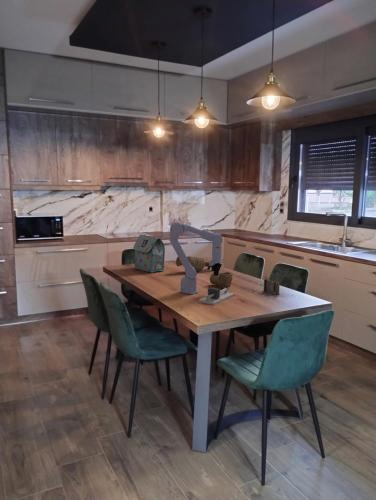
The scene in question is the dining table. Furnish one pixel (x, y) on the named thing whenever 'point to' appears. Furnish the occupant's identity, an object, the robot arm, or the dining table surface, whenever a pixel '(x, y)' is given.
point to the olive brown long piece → (195, 263)
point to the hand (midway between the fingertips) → (216, 275)
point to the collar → (214, 292)
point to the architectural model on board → (271, 286)
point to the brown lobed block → (222, 279)
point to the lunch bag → (149, 253)
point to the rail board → (223, 296)
